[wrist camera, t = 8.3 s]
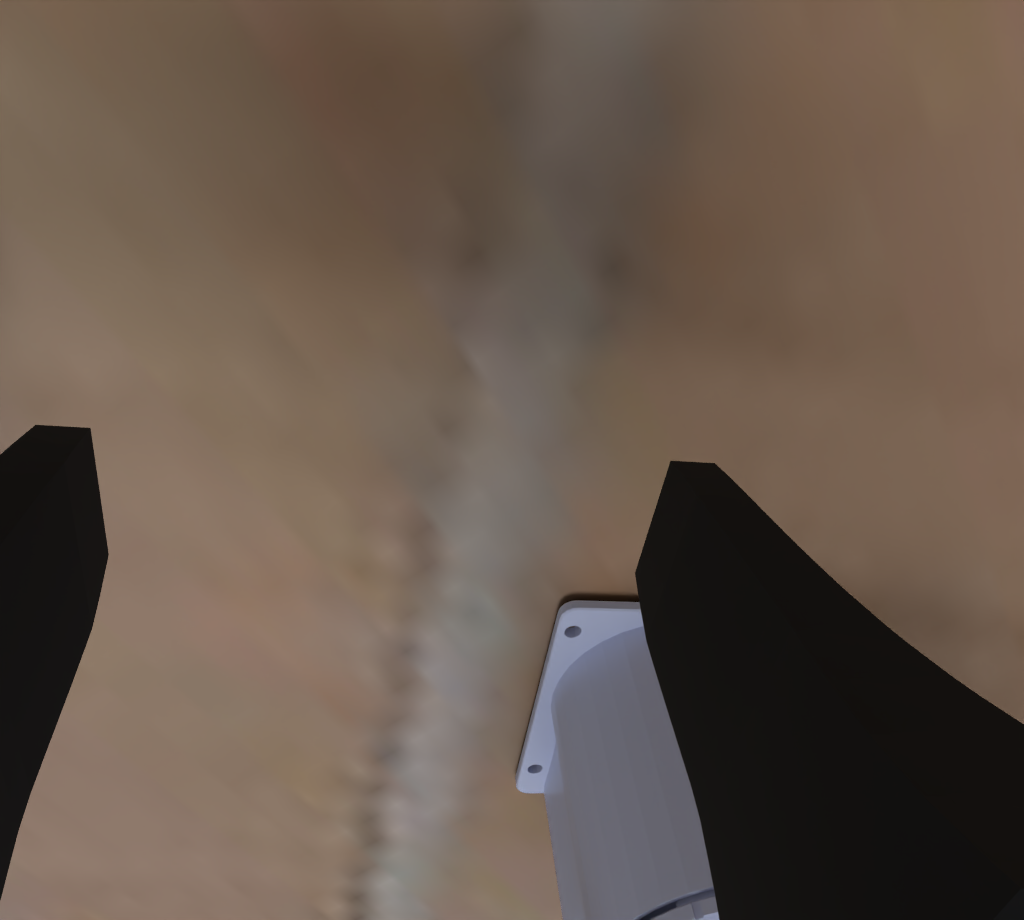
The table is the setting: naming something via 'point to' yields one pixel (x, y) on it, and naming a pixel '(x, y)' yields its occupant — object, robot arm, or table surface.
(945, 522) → the table surface
